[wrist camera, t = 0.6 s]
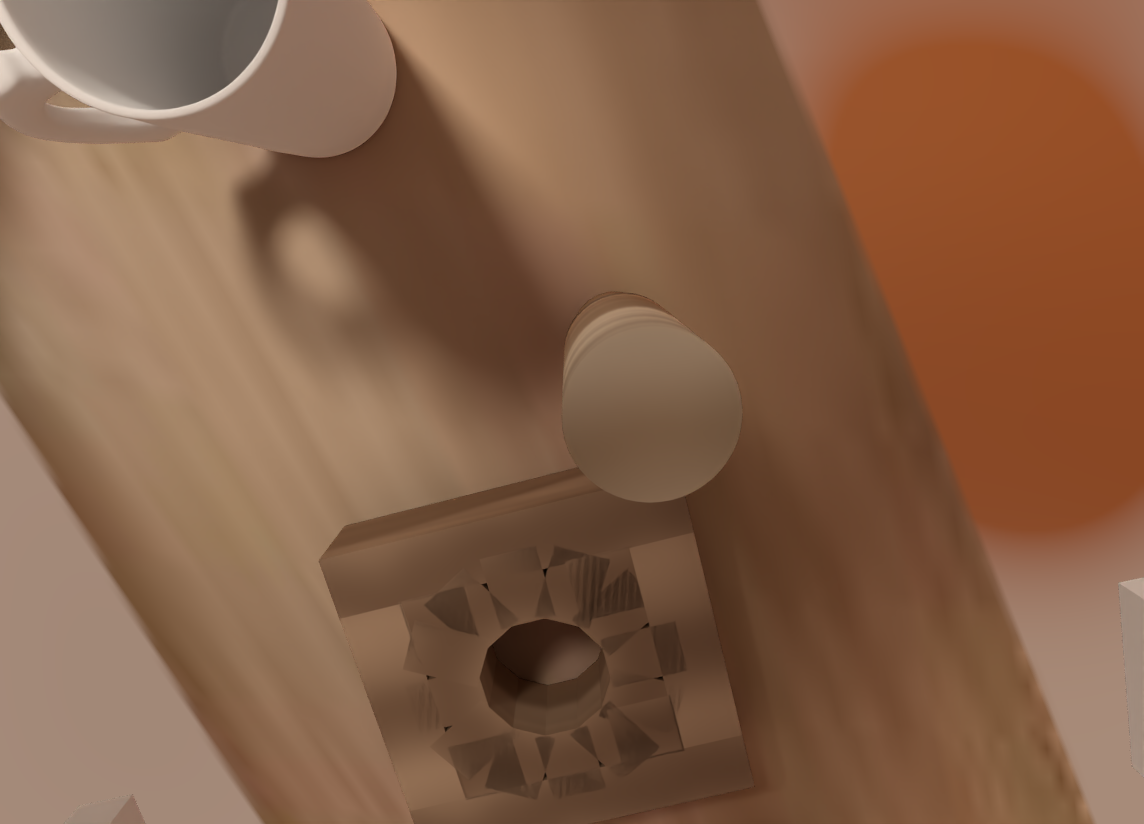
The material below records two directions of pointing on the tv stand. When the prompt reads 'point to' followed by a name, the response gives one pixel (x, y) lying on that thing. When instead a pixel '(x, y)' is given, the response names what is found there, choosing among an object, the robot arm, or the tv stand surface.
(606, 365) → the leg peg
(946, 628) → the tv stand surface
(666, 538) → the beige flat square block
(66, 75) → the mug
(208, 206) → the tv stand surface
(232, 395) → the tv stand surface
